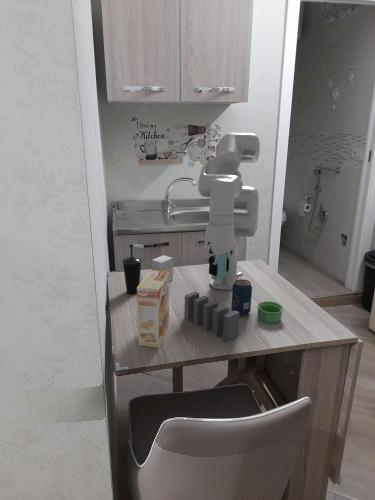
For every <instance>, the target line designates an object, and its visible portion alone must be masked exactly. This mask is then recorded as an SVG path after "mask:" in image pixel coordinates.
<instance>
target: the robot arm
mask: <svg viewBox="0 0 375 500" xmlns="http://www.w3.org/2000/svg"><path fill="white" fill-rule="evenodd" d="M260 149H261V143H260V139H259V137H258V136H257V134H255V133H251V132H248V133H247V132H239V133H238V132H229V133H226V134H224V135H222V137H221V138H220V141H218V142H217V144H216V146H215V156H214V157H213V158H211V159H210V160H208V161H207V162H205V163H204V164H203V166H202V167H201V169H200V173H199V177H198V182H197V191H198V193H199V195H200V196H201V197H204V198H209V209H208V210H209V211H208V214H209V215H208V216H209V218H208V219H209V220H208V223H207V225H206V229H205V234H204V243H203V254H202V257H203V259H205V260H206V261H207V263H208V274H209V275H211V276H212V275H214V276H217V274H218V264H216V263H217V259H218V255H221V254H224V253H227V266H226V277H223V278H221V279H219V280H213V279H212V278H211V279H210V281H209V285H210V287H212V288H214V289H216V290H218V291H219V290H220V291H232V288H233V284H234V282H235V281H236V280H239V278H241V277H243V276H244V273H243V272H242V271H240V272H238V273H237V271H238V270H237V269H238V268H237V267H238V253H239V251H238V250H239V246H238V242H237V241H236V239H235V237H243V238H244V237H245V238H250V237H254V236H255V235H256V234H257V231H258V221H259V220H258V219H259V203H260V197H259V196H260V195H259V191H258V189H257V188H255V187H254V186H253V187H252V186H243V185H244V184H243V181H242V177H243V176H242V173H241V171H240V169H239V168H240V167H241V164H255V163H257V161H258V159H259V157H260V151H261V150H260ZM235 210H237V211H245V212H236V211H235ZM212 253H213V254H212ZM213 256H214V260H213V258H212V257H213Z"/></svg>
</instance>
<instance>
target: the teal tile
mask: <svg viewBox="0 0 375 500" xmlns="http://www.w3.org/2000/svg"><path fill="white" fill-rule="evenodd" d="M212 254H213V253H212ZM212 258H213V260H214V256H213V257H212ZM216 264H218V274H217V276H214V275H211V279H213V280H219V279H221V278H223V277H226V266H227V253H224V254H221V255H218V259H217V263H216Z"/></svg>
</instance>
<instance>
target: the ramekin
mask: <svg viewBox="0 0 375 500" xmlns="http://www.w3.org/2000/svg"><path fill="white" fill-rule="evenodd" d="M256 308H257V318H258V319H259V320H260V321H261V322H264V323H268V324H275V323H278V322H280V321H281V320H282V314H283V311H284V306H282V305H281V304H280V303H278V302H275V301H267V300H265V301H260V302H259V303H258V304H257V307H256Z"/></svg>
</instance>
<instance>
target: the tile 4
mask: <svg viewBox="0 0 375 500" xmlns="http://www.w3.org/2000/svg"><path fill="white" fill-rule="evenodd" d="M218 307H219V302H218V301H216V300H215V299H213V300H212V301H208V303H206V304H204V305H203V323H202V330H204V331H205V332H208V331H210V330H213V310H214V309H216V308H218Z"/></svg>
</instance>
